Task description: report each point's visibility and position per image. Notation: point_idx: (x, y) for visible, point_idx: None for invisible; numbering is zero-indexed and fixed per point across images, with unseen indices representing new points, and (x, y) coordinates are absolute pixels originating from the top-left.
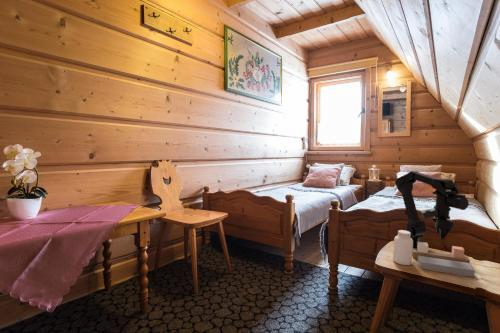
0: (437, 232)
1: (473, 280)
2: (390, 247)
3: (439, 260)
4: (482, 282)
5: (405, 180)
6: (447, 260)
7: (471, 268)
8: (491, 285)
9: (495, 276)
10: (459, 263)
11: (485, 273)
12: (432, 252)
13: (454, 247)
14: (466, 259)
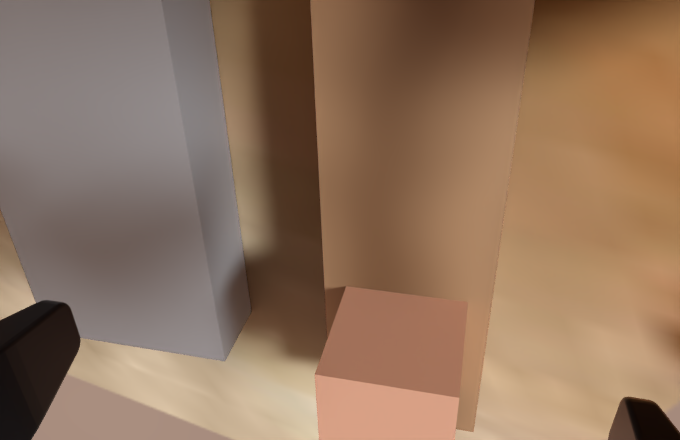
0: (626, 418)
1: (13, 257)
2: None
3: (101, 66)
4: (22, 304)
5: None
6: (170, 173)
7: (80, 326)
8: None
9: (209, 429)
10: (151, 271)
11: (232, 396)
12: (420, 40)
13: (385, 399)
14: None
